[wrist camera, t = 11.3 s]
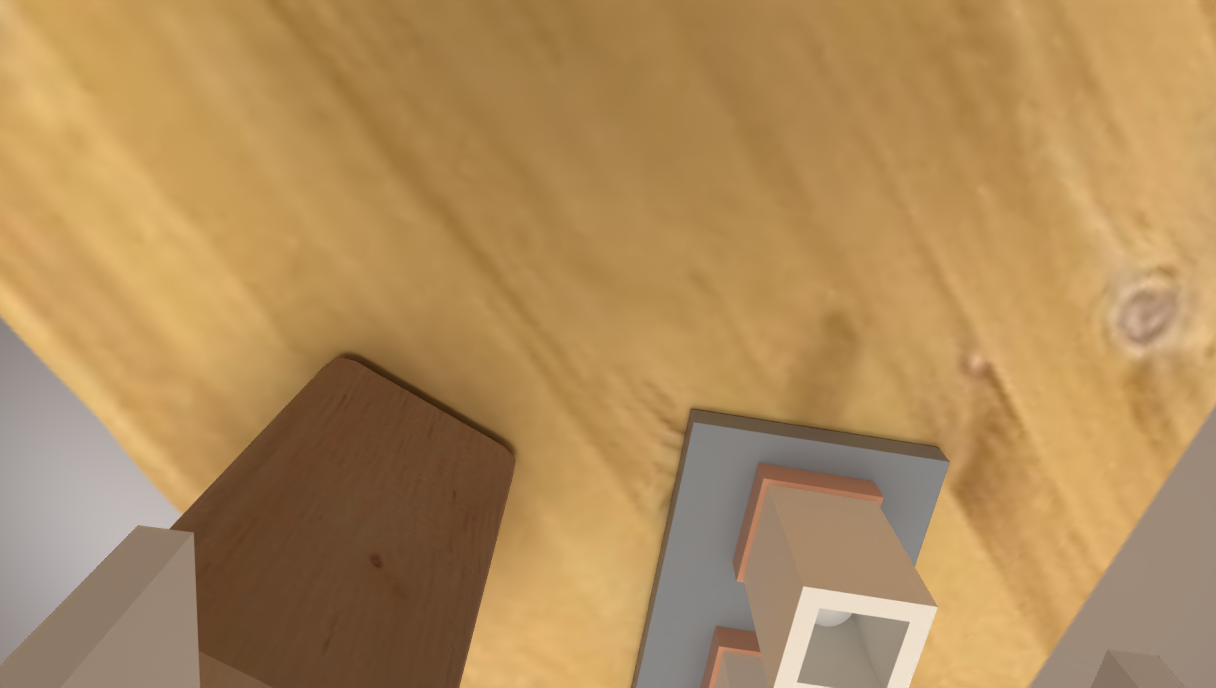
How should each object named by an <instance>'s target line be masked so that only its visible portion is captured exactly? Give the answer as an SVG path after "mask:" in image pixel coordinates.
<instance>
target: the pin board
mask: <svg viewBox="0 0 1216 688" xmlns="http://www.w3.org/2000/svg"><path fill="white" fill-rule="evenodd" d="M758 463H764V464H770V465H776V466H782V467H789V468H795V469H801V470H807V471H813V472H820V473H826V474H832V475H838V476H845V477H851V478H857V479H863V480H870V481H874V482H875V484H876V486H877V487H878V489H879V491H880V492H881V494H882V496H883V497H884V498H883V501H882V504H881V507H880V508H881V510H882V511H883V513H884V515H885V517H886V518H887V520H888V522H889V524H890V525H891V527H892V529H893V530H894V532H895V534H896V536H897V537H898V539H899V541H900V543H901V544H902V546H903V548H904V549H905V551H906V553H907V555H908V556H909V558H910V560H911V562H912V563H913V565H914V567H915V564H916V561H917V558H918V555H919V552H920V549H921V546H922V543H923V540H924V537H925V534H926V531H927V528H928V525H929V522H930V519H931V516H932V513H933V510H934V507H935V504H936V501H937V498H938V495H939V492H940V489H941V487H942V484H943V481H944V478H945V475H946V472H947V469H948V466H949V463H950V462H949V460H948V459H947V458H946V457H945V455H944V454H943V453H942V452H941V451H940V449H939V448H938V447H933V446H926V445H920V444H914V443H907V442H901V441H894V440H888V439H881V438H875V437H869V436H862V435H856V434H849V433H843V432H836V431H830V430H823V429H817V428H811V427H804V426H798V425H791V424H785V423H778V422H772V421H766V420H759V419H753V418H746V417H740V416H733V415H727V414H720V413H714V412H708V411H701V410H695V409H691V412H690V416H689V421H688V426H687V430H686V435H685V440H684V444H683V449H682V454H681V458H680V463H679V468H678V472H677V477H676V482H675V486H674V491H673V496H672V500H671V505H670V510H669V514H668V519H667V524H666V528H665V533H664V538H663V542H662V547H661V552H660V556H659V561H658V566H657V570H656V575H655V580H654V584H653V589H652V594H651V598H650V603H649V608H648V612H647V617H646V622H645V626H644V631H643V636H642V640H641V645H640V650H639V654H638V659H637V664H636V668H635V673H634V678H633V682H632V687H631V688H700V687H701V683H702V679H703V675H704V671H705V667H706V663H707V659H708V655H709V651H710V647H711V643H712V639H713V635H714V631H715V627H716V626H719V627H726V628H733V629H740V630H747V631H754V632H756V631H755V626H754V622H753V618H752V614H751V610H750V605H749V601H748V597H747V593H746V589H745V584H744V583H742V582H737V581H736V577H735V573H734V568H733V564H732V562H733V558H734V555H735V551H736V547H737V543H738V539H739V535H740V531H741V527H742V524H743V520H744V516H745V512H746V508H747V504H748V500H749V497H750V493H751V489H752V485H753V481H754V477H755V473H756V469H757V466H758ZM851 615H852V613H849V612H842V611H836V610H829V609H823V608H819V611H818V615H817V618H816V621H815V624H817V625H820V626H825V627H831V626H836V625H839V624H841V623H843V622H845V621H846V620H847V619H848V618H849V617H850V616H851Z"/></svg>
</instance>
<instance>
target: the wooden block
mask: <svg viewBox="0 0 1216 688" xmlns="http://www.w3.org/2000/svg"><path fill="white" fill-rule="evenodd" d="M514 466H515V459H514V457H513V455H512V454H511V453H510V452H509V451H508V450H507V449H506V448H505V447H504V446H503V445H501V444H499V443H497V442H496V441H494V440H492V439H491V438H489V437H487V436H485V435H484V434H482V433H480V432H478V431H477V430H475V429H473V428H471V427H470V426H468V425H466V424H464V423H463V422H461V421H459V420H457V419H456V418H454V417H452V416H450V415H449V414H447V413H445V412H444V411H442V410H440V409H438V408H437V407H435V406H433V405H431V404H430V403H428V402H426V401H424V400H423V399H421V398H419V397H417V396H416V395H414V394H412V393H410V392H409V391H407V390H405V389H404V388H402V387H400V386H398V385H397V384H395V383H393V382H391V381H390V380H388V379H386V378H384V377H383V376H381V375H379V374H377V373H376V372H374V371H372V370H370V369H369V368H367V367H365V366H363V365H362V364H360V363H358V362H357V361H354V360H350V359H346V358H342V357H341V358H336V359H334V360H333V361H331V362H330V363H329V364H327V365H326V366H324V367H323V368H322V369H321V370H320V371H319V372H318V373H317V374H316V375H315V376H314V378H313V379H312V380H311V381H310V382H309V383H308V384H307V385H306V386H305V387H304V388H303V389H302V390H301V391H300V392H299V393H298V394H297V395H296V396H295V397H294V399H293V400H292V401H291V402H290V403H289V404H288V405H287V406H286V407H285V408H284V409H283V410H282V411H281V412H280V413H279V414H278V415H277V416H276V417H275V418H274V420H273V421H272V422H271V423H270V424H269V425H268V426H267V427H266V428H265V429H264V430H263V431H262V432H261V433H260V434H259V435H258V436H257V437H256V438H255V439H254V441H253V442H252V443H251V444H250V445H249V446H248V447H247V448H246V449H245V450H244V451H243V452H242V453H241V454H240V455H239V456H238V457H237V458H236V459H235V461H234V462H233V463H232V464H231V465H230V466H229V467H228V468H227V469H226V470H225V471H224V472H223V473H222V474H221V475H220V476H219V477H218V478H217V479H216V480H215V482H214V483H213V484H212V485H211V486H210V487H209V488H208V489H207V490H206V491H205V492H204V493H203V494H202V495H201V496H200V497H199V498H198V499H197V500H196V501H195V503H194V504H193V505H192V506H191V507H190V508H189V509H188V510H187V511H186V512H185V513H184V514H183V515H182V516H181V517H180V518H179V520H177V521H176V523H175V524H174V525H173V526H172V527H171V528H170V530H178V531H186V532H194V552H195V577H196V601H197V626H198V650H199V675H200V688H459V686H460V682H461V678H462V674H463V671H464V667H465V663H466V659H467V655H468V651H469V647H470V643H471V639H472V635H473V631H474V627H475V623H476V619H477V615H478V611H479V607H480V603H481V599H482V595H483V591H484V587H485V584H486V580H487V576H488V572H489V568H490V564H491V560H492V556H493V552H494V548H495V544H496V540H497V536H498V532H499V528H500V524H501V520H502V516H503V512H504V508H505V504H506V501H507V497H508V493H509V489H510V485H511V481H512V477H513V472H514Z"/></svg>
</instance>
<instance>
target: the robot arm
mask: <svg viewBox="0 0 1216 688" xmlns="http://www.w3.org/2000/svg"><path fill="white" fill-rule="evenodd" d="M0 688H200V675H199V650H198V626H197V601H196V577H195V552H194V532H186V531H178V530H170V529H162V528H154V527H147V526H146V527H145V526H139V525H138V526H137V527H136V528H135V529H134V530H133V531H132V532H131V533H130V534H129V535H128V536H127V537H126V538H125V539H124V540H123V541H122V542H121V543H120V544H119V545H118V546H117V547H116V548H115V549H114V550H113V551H112V552H111V553H110V554H109V555H108V556H107V557H106V558H105V559H104V560H103V561H102V562H101V564H99V565H98V566H97V567H96V569H95V570H94V571H93V572H92V573H91V574H90V575H89V576H88V577H87V578H86V579H85V580H84V581H83V582H82V583H81V584H80V585H79V586H78V587H77V588H76V589H75V590H74V591H73V592H72V593H71V594H70V595H69V596H68V597H67V598H66V599H65V600H64V601H63V602H62V603H61V604H60V605H59V606H58V607H57V608H56V609H55V610H54V611H53V612H52V613H51V614H50V615H49V616H48V617H47V618H46V619H45V620H44V621H43V622H42V623H41V625H39V626H38V627H37V628H36V630H35V631H34V632H33V633H32V634H31V635H30V636H29V637H28V638H27V639H26V640H25V641H24V642H23V643H22V644H21V645H20V646H19V647H18V648H17V649H16V650H15V651H14V652H13V653H12V654H11V655H10V656H9V657H8V658H7V659H6V660H5V661H4V662H3V663H2V664H1V665H0ZM1091 688H1187V687H1186V686H1185V685H1184V684H1183V683H1182V682H1181V681H1180V679H1179V678H1178V677H1177V676H1176V675H1175V674H1174V673H1173V671H1172V670H1171V669H1170V668H1169V667H1168V666H1167V664H1166V663H1165V662H1164V661H1163V660H1162V659H1161V658H1160V656H1157V655H1149V654H1141V653H1133V652H1125V651H1117V650H1110V649H1108V650H1107V653H1106V655H1105V657H1104V659H1103V662H1102V664H1101V666H1100V668H1099V671H1098V673H1097V675H1096V677H1095V680H1094V682H1093V684H1092V686H1091Z"/></svg>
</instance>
